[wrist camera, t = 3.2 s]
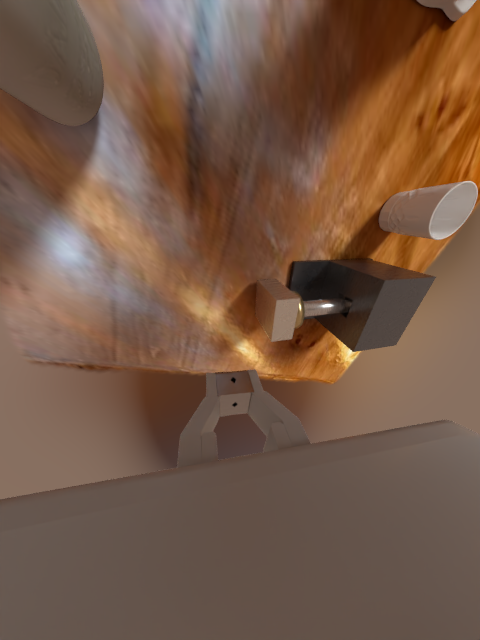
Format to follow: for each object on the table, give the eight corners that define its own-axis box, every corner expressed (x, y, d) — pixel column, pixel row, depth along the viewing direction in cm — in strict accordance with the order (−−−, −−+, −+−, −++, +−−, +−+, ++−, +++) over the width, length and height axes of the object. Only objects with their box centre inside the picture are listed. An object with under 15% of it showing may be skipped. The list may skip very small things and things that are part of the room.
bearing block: (283, 319, 44) (315, 357, 32) (292, 261, 37) (338, 283, 25) (349, 312, 48) (399, 344, 36) (369, 258, 40) (440, 276, 29)
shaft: (254, 314, 40) (271, 341, 31) (257, 279, 36) (276, 300, 27) (340, 306, 44) (374, 328, 35) (351, 274, 40) (392, 290, 31)
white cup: (380, 193, 34) (442, 187, 25) (416, 184, 34) (488, 175, 26) (371, 237, 38) (421, 244, 30) (404, 229, 39) (461, 233, 30)
